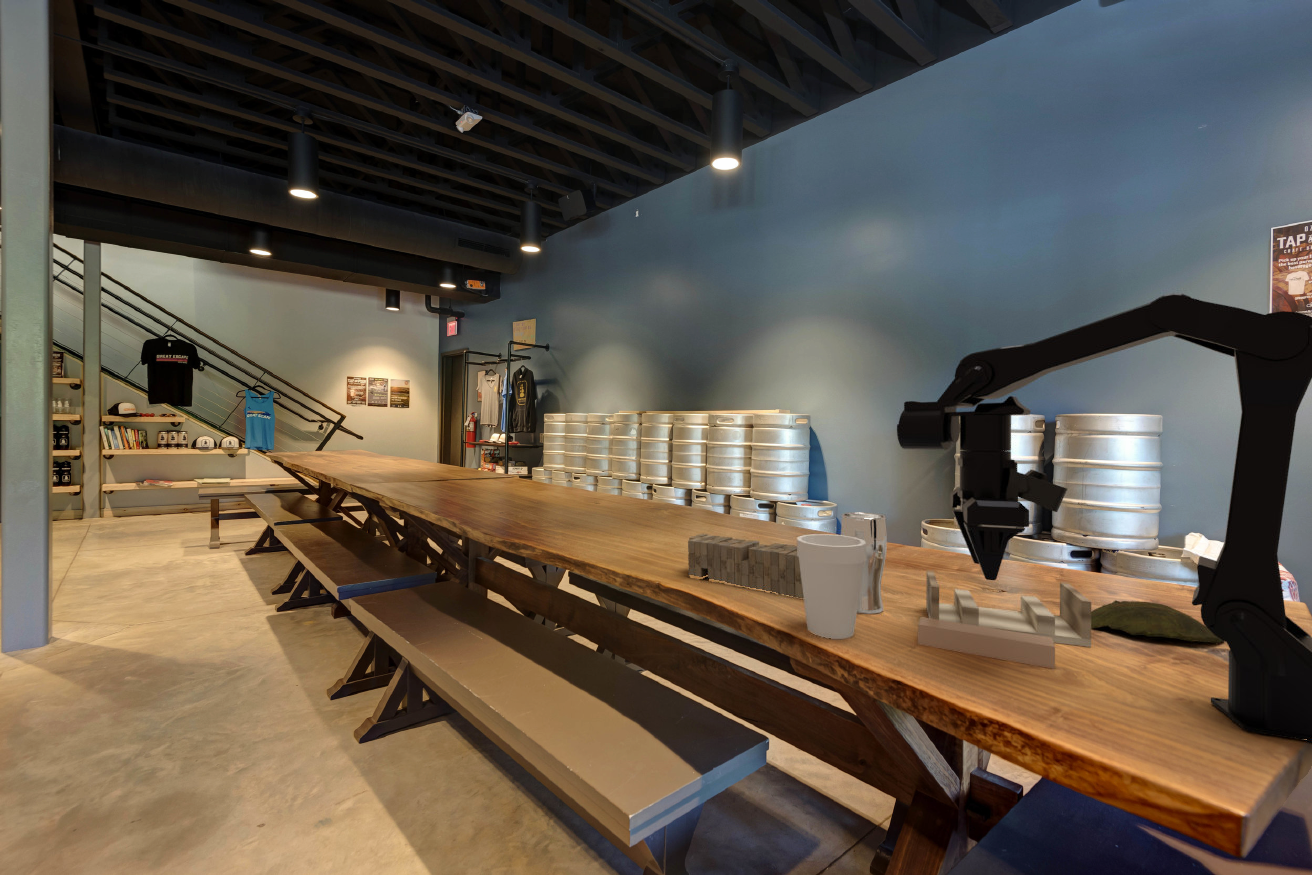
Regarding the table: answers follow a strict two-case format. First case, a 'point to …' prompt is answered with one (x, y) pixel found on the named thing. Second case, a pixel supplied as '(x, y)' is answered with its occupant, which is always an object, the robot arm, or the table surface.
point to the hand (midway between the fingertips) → (984, 571)
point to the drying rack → (1018, 614)
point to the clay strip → (987, 642)
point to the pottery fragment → (1151, 621)
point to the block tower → (746, 563)
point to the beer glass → (869, 556)
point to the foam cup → (831, 582)
